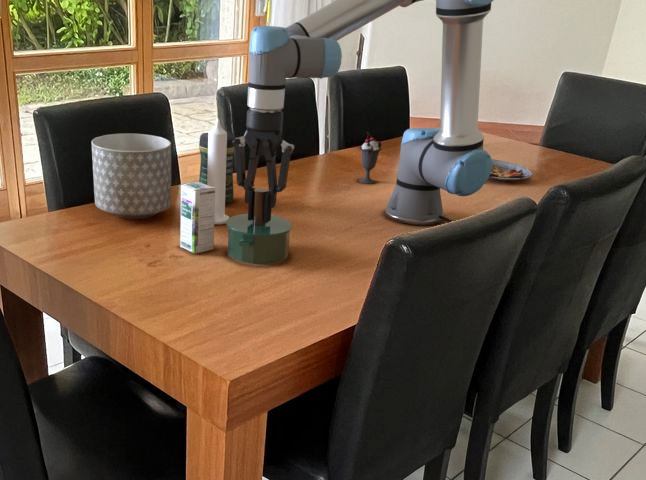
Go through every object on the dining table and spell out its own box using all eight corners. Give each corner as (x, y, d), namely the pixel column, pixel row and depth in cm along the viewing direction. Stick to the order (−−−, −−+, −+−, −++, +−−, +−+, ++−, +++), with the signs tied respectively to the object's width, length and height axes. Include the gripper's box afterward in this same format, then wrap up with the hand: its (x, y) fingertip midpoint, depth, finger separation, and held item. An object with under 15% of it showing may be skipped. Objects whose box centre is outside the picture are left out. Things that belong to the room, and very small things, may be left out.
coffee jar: (213, 208, 198) (214, 136, 189) (192, 201, 203) (193, 130, 193) (238, 201, 204) (241, 132, 195) (218, 195, 209) (220, 126, 200)
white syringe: (219, 226, 185) (221, 122, 173) (196, 220, 188) (197, 117, 176) (234, 219, 191) (238, 118, 178) (212, 214, 194) (214, 113, 181)
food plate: (539, 187, 234) (542, 176, 233) (466, 183, 234) (468, 171, 232) (517, 167, 256) (519, 157, 254) (450, 163, 256) (451, 153, 254)
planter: (79, 214, 188) (74, 140, 179) (134, 199, 201) (132, 130, 192) (133, 232, 178) (130, 155, 169) (186, 215, 192) (187, 143, 183)
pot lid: (299, 224, 170) (302, 186, 166) (279, 243, 158) (282, 203, 154) (239, 214, 174) (241, 177, 169) (216, 233, 162) (217, 193, 157)
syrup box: (179, 247, 171) (179, 184, 164) (200, 242, 174) (200, 180, 167) (194, 254, 167) (194, 190, 160) (215, 249, 171) (216, 186, 164)
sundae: (353, 182, 228) (359, 132, 220) (359, 177, 233) (365, 128, 226) (374, 185, 226) (380, 135, 218) (379, 180, 231) (386, 131, 224)
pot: (298, 247, 175) (300, 219, 172) (272, 274, 159) (274, 244, 156) (243, 238, 179) (245, 210, 175) (213, 264, 163) (214, 234, 159)
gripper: (307, 110, 154) (298, 220, 166) (235, 102, 158) (231, 210, 170) (297, 116, 148) (288, 230, 160) (222, 107, 152) (219, 219, 164)
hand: (259, 219), depth 165 cm, fingers closed on pot lid, 3 cm apart
